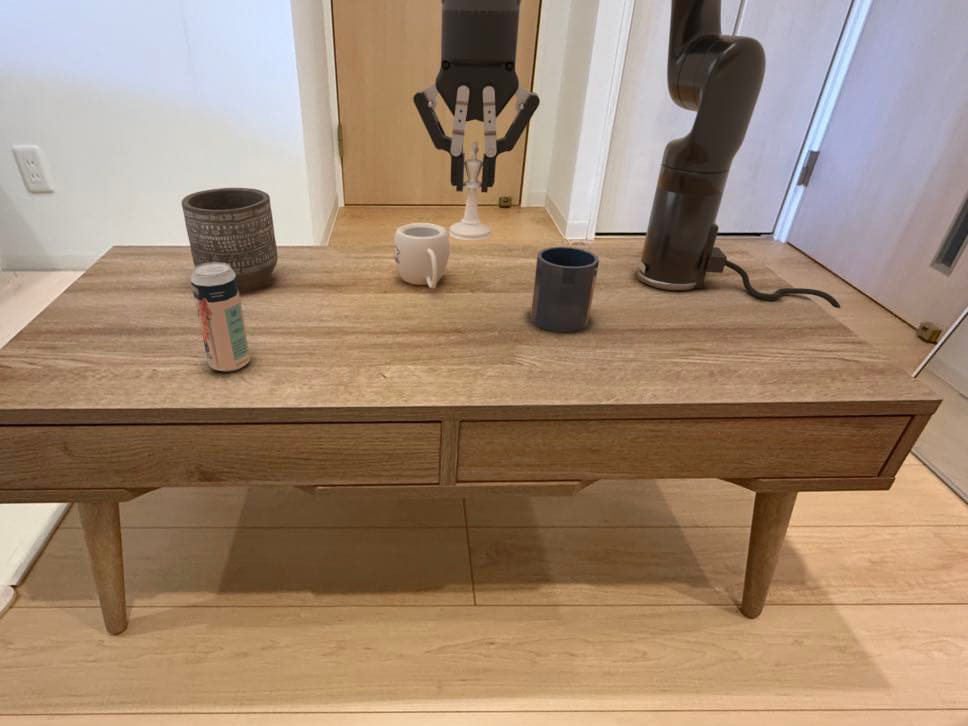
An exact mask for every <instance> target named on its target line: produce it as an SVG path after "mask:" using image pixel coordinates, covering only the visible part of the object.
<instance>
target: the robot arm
mask: <svg viewBox="0 0 968 726" xmlns="http://www.w3.org/2000/svg"><path fill="white" fill-rule="evenodd" d="M670 1H671V2H670V21H669V33H668V34H669V36H668V46H667V48H668V50H667V64H666V65H667V66H666V83H667V90H668V93H669V96H670V99H671V100H672V102H673V103H674V104H675V105H676V106H677V107H679V108H680V109H683V110H685V111H686V110H687V111H691V112H695V113H696V115H695V119H694V121H693V125H692V126H691V127H692V128H691V129H690V131H689V133H687V134H686V135H684V136H683V137H680V138H675V139H673V140H670V141H668V143H666V145H665V147H664V150H663V154H662V160H661V164H660V169H659V173H658V177H657V184H656V187H655V191H654V197H653V201H652V206H651V210H650V215H649V220H648V223H647V224H648V225H647V229H646V235H645V237H644V238H645V239H644V243H643V248H642V253H641V257H640V258H639V257H638V258H637V261H636V265H637V266H638V268H637V271H636V272H637V273H636V276H637V279H638V280H639V281H640V282H641V283H643V284H646V285H648V286H650V287H653V288H657V289H661V290H667V291H689V290H693V289H703V286H704V282H705V279H706V276H707V273H714V274H715V273H717V274H723V272H724V269H725V267H727V268H729V269H731V270H732V271H735V273H737V274H738V275H739V276H740V277H741V279H742V284H743V286H744V289H745V290H746V291H747V292H748V294H750V295H751V296H753V297H755V298H758V299H762V300H770V301H771V300H777V299H778V298H779V297H780V296H781V295H785V294H787V295H788V294H789V295H812V296H815V297H819V298H822V299H824V300H825V301H827V302H828V303H829V304H830V305H831V306H832V307H833V308H835V309H841V304H840V303H839V302H838V301H837V300H836V299H835V297H833V296H832V295H830V293H827V292H825V291H822V290H820V289H815V288H814V289H813V288H801V287H799V288H797V287H783V288H778V289H777V290H776V291H775V292H774V293H766V292H765V293H764V292H760V291H758V290H756V288H754V287H753V286H752V284H751V282H750V278H749V275H748V273H747V272H746V271H745V269H744V268H742V267H741V266H739V265H738V264H736V263H734V262H732V261H729V260H728V257H727V256H726V254H725V253H724V252H723V251H722V250H721V248H720V247H718V246H715V243H716V240H717V236H718V232H719V225H718V224H717V223H716V221H717V218H718V213H719V210H720V207H721V204H722V199H723V195H724V193H725V189H726V185H727V181H728V178H729V174H730V170H731V167H732V163H733V160H734V158H735V156H736V155H737V153H738V152H739V150H740V149H741V147H742V145H743V143H744V141H745V138H746V136H747V132H748V129H749V127H750V123H751V120H752V117H753V115H754V111H755V109H756V105H757V102H758V99H759V97H760V93H761V89H762V88H763V87H762V86H763V82H764V78H765V72H766V63H767V62H766V61H767V59H766V52H765V49H764V46H763V45H762V43H761V42H760V41H759V40H757V39H756V38H753V37H750V36H744V35H734V34H733V35H732V34H731V35H730V34H722V33H723V32H722V0H670ZM521 3H522V0H440V4H441V33H440V34H441V37H440V38H441V40H440V67H439V71H438V74H437V75H436V78H435V81H434V82H435V83H432V84H431V85H429V86H428V87H426V88H425V89H420V90H419V89H418V90H417V91H416V93H414V95H413V98H412V101H413V104H414V106H415V108H416V110H417V112H418V114H419V116H420V118H421V120H422V122H423V125H424V127H425V129H426V131H427V133H428V135H429V138H430V139H431V141H432V144H433V145H434V148H435V149H436V150H439V151H441V150H442V151H445V152H447V153H448V154H449V155H450V180H449V181H450V184H451V186H452V187H456V189H455V190H456V192H460V193H461V192H464V186H463V184H464V182H465V181H464V180H465V164H464V162H465V161H466V160H465V159H466V158H465V157H466V153H465V152H464V141H465V133H466V127H467V123H468V122H470V121H471V122H472V121H478V122H482V123H483V132H484V133H483V134H484V153H483V156H482V162H483V165H482V168H481V172H482V173H481V183H482V187H480V188H481V189H480V191H481V193H488V192H489V191H488V189H489V188H493V186H494V184H495V180H496V179H495V178H496V165H497V164H496V163H497V158H498V156H499V155H501V154H503V153H506V152H511V151H512V150H514V148H515V146H516V144H517V143H518V141H519V139H520V138H521V136H522V134H523V133H524V132H525V129H526V128H527V126H528V124H529V122H530V121H531V120H532V118H533V116H534V114H535V112H536V111H537V109H538V108H539V106H540V102H541V101H540V97H539V95H538V94H537V92H535V91H533V92H531V91H530V90H528V89H526V88H525V87H523V86H522V85H520V80H519V76H518V75H517V72H516V63H517V62H516V61H517V50H518V35H519V24H520V14H521V13H520V11H521ZM438 94H439V95H440V97H441V99H442V100H443V102H444V103H445V105H446V107H447V108H448V110H449V111H450V113H451V115H452V116H453V126H452V127H453V128H452V134H451V137H450V136H448V135H446V133H445V130H444V128H443V126H442V124H441V122H440V120H439V118H438V115H437V113H436V111H435V109H436V108H437V106H438V99H437V96H438ZM514 96H515V97H516V100H515V106H514V107H515V110H516V112H517V113H516V115H515V117H514V119H513V121H512V122H511V124H510V126H509V127H508V129H507V131H506V133H505V134H504V136H503V137H500V138H498V139H497V118H498V117H499V116H500V115H501V113H502V112H503V110H504V109H505V108H506V106H507V105H509V102H510V101H511V99H512V98H514Z"/></svg>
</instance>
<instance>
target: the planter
mask: <svg viewBox="0 0 968 726" xmlns="http://www.w3.org/2000/svg"><path fill="white" fill-rule="evenodd" d="M181 208H182V212H183V217H184V224H185V229H186V233H187V238H188V242H189V247H190V253H191V257H192V262H193V266H194V268H195V267H196V266H199V265H201V264H204V263H211V262H221V263H226V264H228V265H229V266H230V267H231V269H232V270H233V271H234V272H235V274H236V279H237V285H238V291H239V294H246V293H251V292H255V291H258V290H260V289H262V288H264V287H265V286H267V284H268V282H269V281H270V279H271V277H272V275H273V272H274V271H275V268H276V266H277V263H278V259H279V256H278V249H277V241H276V236H275V235H276V234H275V227H274V219H273V211H272V205H271V198H270V195H269V194H268V193H267V192H265V191H263V190H261V189H256V188H247V187H222V188H221V187H220V188H212V189H207V190H200V191H196V192H193V193H190V194H188V195H186V196H184V197H183V198H182V200H181Z"/></svg>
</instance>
